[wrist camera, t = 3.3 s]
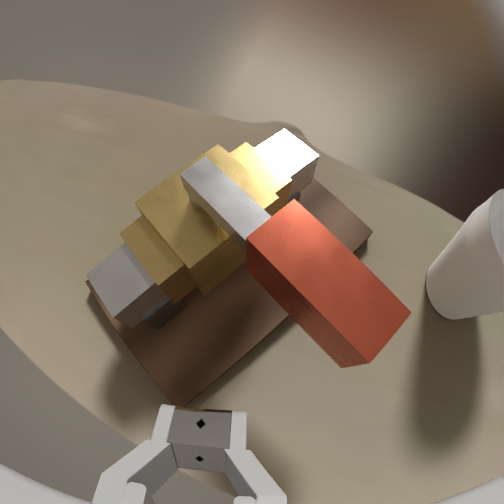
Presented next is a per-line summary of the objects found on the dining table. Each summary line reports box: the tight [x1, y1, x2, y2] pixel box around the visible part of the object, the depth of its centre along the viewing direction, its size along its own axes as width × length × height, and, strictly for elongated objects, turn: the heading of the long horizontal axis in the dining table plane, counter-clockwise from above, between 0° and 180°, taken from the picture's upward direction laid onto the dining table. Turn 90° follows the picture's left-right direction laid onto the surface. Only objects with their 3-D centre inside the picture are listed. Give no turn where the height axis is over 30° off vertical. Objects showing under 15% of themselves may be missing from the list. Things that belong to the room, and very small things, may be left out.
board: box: [86, 178, 373, 407], centre depth 28 cm, size 14×23×2 cm, turn 132°
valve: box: [86, 129, 319, 330], centre depth 23 cm, size 6×18×8 cm, turn 132°
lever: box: [180, 156, 411, 368], centre depth 15 cm, size 13×3×5 cm, turn 42°
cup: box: [426, 189, 504, 320], centre depth 22 cm, size 9×9×12 cm
